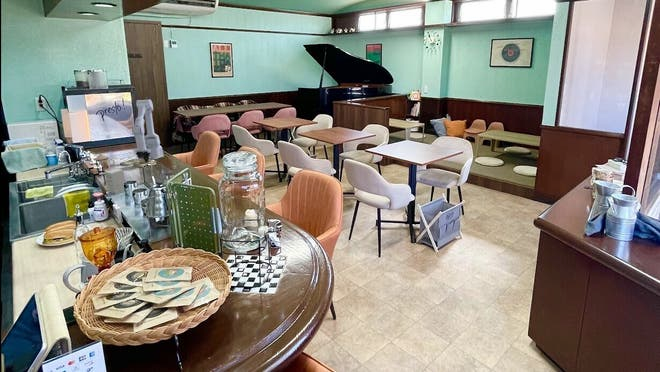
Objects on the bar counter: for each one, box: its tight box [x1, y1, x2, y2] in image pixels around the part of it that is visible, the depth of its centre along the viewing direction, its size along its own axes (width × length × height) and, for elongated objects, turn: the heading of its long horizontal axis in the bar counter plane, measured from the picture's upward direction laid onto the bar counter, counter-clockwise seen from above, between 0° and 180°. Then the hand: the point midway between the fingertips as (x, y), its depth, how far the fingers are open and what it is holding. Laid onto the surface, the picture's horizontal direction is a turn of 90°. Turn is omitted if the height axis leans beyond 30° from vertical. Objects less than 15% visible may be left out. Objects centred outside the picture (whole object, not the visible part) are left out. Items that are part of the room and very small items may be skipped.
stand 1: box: [119, 158, 140, 167], centre depth 296 cm, size 12×10×2 cm
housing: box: [136, 155, 152, 164], centre depth 289 cm, size 7×4×5 cm, turn 154°
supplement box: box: [104, 168, 127, 195], centre depth 230 cm, size 7×7×13 cm
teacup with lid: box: [93, 153, 116, 170], centre depth 279 cm, size 12×9×12 cm
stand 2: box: [132, 159, 158, 168], centre depth 290 cm, size 12×10×2 cm
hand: (144, 161), depth 289 cm, fingers closed on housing, 4 cm apart
